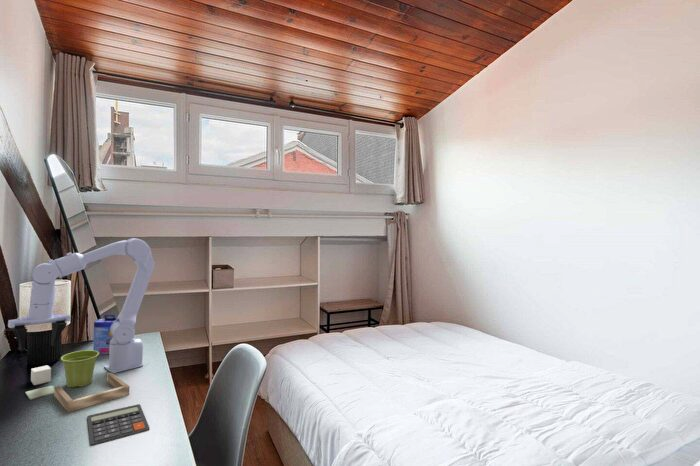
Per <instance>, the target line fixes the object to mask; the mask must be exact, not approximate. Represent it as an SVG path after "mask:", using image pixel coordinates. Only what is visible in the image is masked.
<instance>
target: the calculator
mask: <svg viewBox="0 0 700 466" xmlns="http://www.w3.org/2000/svg"><path fill="white" fill-rule="evenodd" d="M86 419H87V428H88V435H89V444H90V445H89V446H90V447H91V446H95V445H99V444H103V443H107V442H110V441H114V440H115V441H116V440H118V439H122V438H126V437H129V435H130V436H132V435H136V434H140V433H145V432H147V431H150V426H149V423H148V421H147V419H146V416H145V414H144V411H143V409H142V406H141V404H140V403H137V404H133V405H129V406H127V407H121V408H120V407H119V408H116V409H112V410H108V411H103V412H98V413H93V414H89V415H87V418H86Z"/></svg>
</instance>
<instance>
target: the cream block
mask: <svg viewBox="0 0 700 466" xmlns="http://www.w3.org/2000/svg"><path fill="white" fill-rule="evenodd" d="M30 382H31V383H32V385H33V386H38V385H42V384H45V383H50V382H52V368H51V366H49V365H47V364H46V365H42V366H38V367H34V368H33V367H32V368H31V369H30Z"/></svg>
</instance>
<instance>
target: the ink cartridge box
mask: <svg viewBox="0 0 700 466" xmlns="http://www.w3.org/2000/svg"><path fill="white" fill-rule="evenodd" d="M116 319H117V317H116V314H104V318H98V319H97V320H96V321H94V323H93V347H92V348H93V349H92V350H94V351H98V352H99V355H106V354H109V348H110V340H111V339H112V338H113V335H112V334H111V332H110V327H111V325H112V324H113V323H114V322H115V321H116Z"/></svg>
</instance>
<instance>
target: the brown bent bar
mask: <svg viewBox="0 0 700 466" xmlns="http://www.w3.org/2000/svg"><path fill="white" fill-rule="evenodd" d="M106 377H107V383H108V384H109V385H111V386H112V387H113V388H112V389H108V390H104V391H100V392H96V393H93V394H89V395H86V396H82V397H79V398H75V399H72V397H71V396H69V394H68V393H67V392H66V391H65V390H64V389H63V388H62V387H61V385H59V386H54V385H48V386H45V387H40V388H36V389H32V390H28V391H25V395H26V396H27V398H28V399H29V400H30V401H32V400H35V399H39V398H43V397H47V396H52V395H53V397H54V398H55V399H57V401H58V402H59V403H60V405H61V406H63V408H64V409H65V410H66V412H68V413H70V412H75V411H77V410H81V409H84V408H88V407H91V406H94V405H97V404H101V403H105V402H108V401H111V400H115V399H117V398H118V399H119V398H122V397H125V396H129V395H130V385H129V384H127V382H125V381H123V379H121V378H119V377H118V376H117V375H115V373H111V372H109V373H107V376H106Z"/></svg>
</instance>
